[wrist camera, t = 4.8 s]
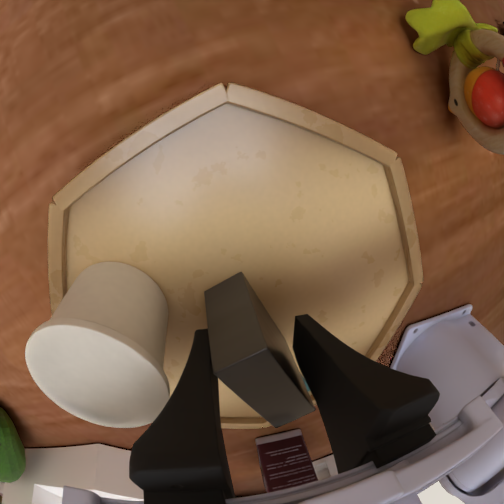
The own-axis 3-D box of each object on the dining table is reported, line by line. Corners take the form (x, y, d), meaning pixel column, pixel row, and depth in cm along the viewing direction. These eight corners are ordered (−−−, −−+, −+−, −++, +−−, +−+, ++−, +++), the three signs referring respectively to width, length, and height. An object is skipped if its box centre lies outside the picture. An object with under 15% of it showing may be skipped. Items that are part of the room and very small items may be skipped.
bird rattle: (454, 100, 15) (459, -6, 8) (565, 194, 8) (604, 67, 1) (399, 107, 15) (395, -23, 8) (533, 225, 8) (590, 45, 1)
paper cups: (197, 324, 13) (201, 406, 9) (116, 363, 14) (101, 436, 9) (126, 231, 11) (86, 296, 7) (48, 289, 11) (3, 356, 7)
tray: (416, 326, 19) (459, 374, 14) (197, 437, 20) (204, 496, 15) (338, 41, 10) (422, 9, 5) (0, 254, 11) (-58, 316, 5)
